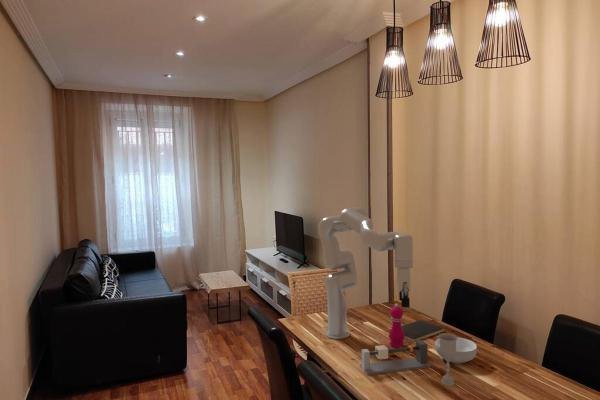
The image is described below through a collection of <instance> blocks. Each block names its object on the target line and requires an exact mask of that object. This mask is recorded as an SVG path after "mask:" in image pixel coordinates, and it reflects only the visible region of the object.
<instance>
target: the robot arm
mask: <svg viewBox="0 0 600 400" xmlns="http://www.w3.org/2000/svg"><path fill="white" fill-rule="evenodd" d="M373 227H374V221H373V220H372V219H371V218H369V214H368V211H367V210H366V209H365V208H363V207H359V206H358V207H347V208H345V209H343V210H342V211H341V212H340V214H339V215H331V216H330V215H329V216H327V217H324V218H322V219H321V220H320V222H319V224H318V228H317V231H318V236H319V238H320V242H321V245H322V254H323V260H324V265H325V268H327V269H328V270H329V271H335V272H332V273H329V274H328V275H327V276H326V277H325V280H324V285H325V289H326V290H325V291H326V296H327V297H326V298H327V299H326V300H327V329H326V330H325V331H324V335H325V336H326V337H327V338H328V339H333V340H343V339H346V338H349V337H350V335H351V332H350V330H349V329H348V322H347V315H348V314H347V312H348V311H347V310H348V309H347V297H346V295H345V294H344V291H346V290H350V289H354V287H356V285H357V284H358V275H357V268H356V261H355V258H354V254H353V253H352V251H351V250H349V249H347V248H342V249H341V248H340V242H339V240H338V238H337V237H336V236H335V234H337V233H338V234H339V233H345V232H350V231H354V232H356V233H358V235H360V239H361V240H362V242H363V243H364V244H365V245H366V247H369V248H370V249H372V250H374V251H377V252H385V251H389V250H390V251H391V250H393V251H394V268H396V290H397V291H398V292H399V294H398V296H399V299H398V300H399V301H400V302H401V308H410V305H411V304H410V292H411V269H413V267H414V249H413V248H414V244H413V242H414V240H413V236H412V235H411V234H407V233H400V232H397V231H389V232H383V233H378V232H376V231H374V230H373ZM336 270H339V271H336ZM398 292H397V293H398Z"/></svg>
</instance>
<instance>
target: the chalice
mask: <svg viewBox="0 0 600 400" xmlns="http://www.w3.org/2000/svg"><path fill="white" fill-rule="evenodd" d="M438 337H439V338H440V350H441V353H442V355H443V358H442V359H444V360H445V361H446V364H445V366H446V369H445V371H446V374H445V375H443V376H442V379H441V381H440V382H441V384H443V385H444V386H447V387H448V386H450V387H451V386H454V385H455V384H456V383H455V381H454V380H455V379H454V378H453V376H452V375H450V372H451V369H450V367H451V365H450V362H449V361H451V360H452V359H453V357H454V355H455V352H456V340H457V337H458V336H456V335H455V334H453V333H448V332H444V333H443V332H441V333H438ZM439 338H438V339H439Z"/></svg>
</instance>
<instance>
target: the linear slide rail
mask: <svg viewBox="0 0 600 400" xmlns="http://www.w3.org/2000/svg"><path fill="white" fill-rule="evenodd" d="M414 351H415V357H409V358H400V359H399V358H398V359H393V360H384V361H376V362H371V356H374V355H377V354H378V351H375V350H373V351H369V349H368V348H363V349H361V363H360V365H359V366H360V368H361V370H362V371H363V373H364V374H366V375H367V376H372V375H373V376H375V375H380V374H389V373H395V372H403V371H410V370H411V371H412V370H420V369H427V368H429V369H430V368H431V367H432V365H431V363H430V362H428V343H427V342H426V341H425V340H423V339H421V340H418V341H415V346H413V345H411V344H410V345H407V347H402V348H390V349H389V348H388V354H394V353H401V352H409V353H413V352H414Z"/></svg>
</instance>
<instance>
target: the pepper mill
mask: <svg viewBox="0 0 600 400" xmlns="http://www.w3.org/2000/svg"><path fill="white" fill-rule="evenodd" d="M389 313H390V316H391V317H390V320H391V322H392V323H391V324H392V325H391V328H390V329H391V330H390V329H389V333H388V338H389V340H390V341H389V345H390V347H391V348H393V349H398V348H404V346H405V345H404V344H405V342H404V340H405V335H404V332H403V330H402V327H401V326H402V322H403V315H404V310H403V307H400V306H399V304H398V303H395V304H394V306H392V307H391V308H390V312H389Z"/></svg>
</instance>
